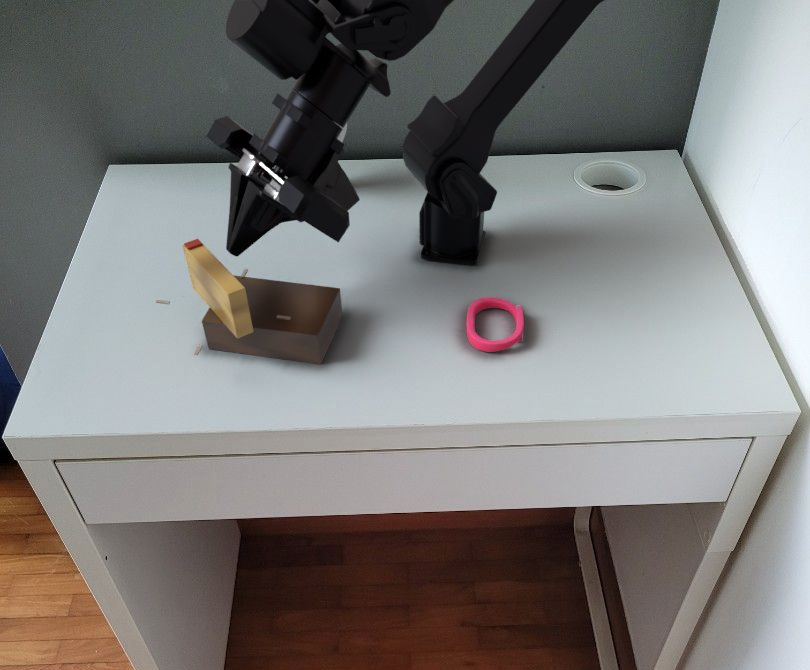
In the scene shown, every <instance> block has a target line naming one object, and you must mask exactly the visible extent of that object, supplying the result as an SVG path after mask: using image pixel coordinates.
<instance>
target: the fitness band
mask: <svg viewBox="0 0 810 670" xmlns="http://www.w3.org/2000/svg"><path fill="white" fill-rule="evenodd" d="M486 309H501V310H505V311H507V312H508V313H510V314H511V315H512V317H513V318H514V321H515V329H514V332H513V333H512V334H511V335H510V336H509V337H507V338H503V339H500V340H499V339H498V340H492V339H491V340H490V339H486V338H483V337H482V336H481V335H479V334H478V333H477V332H476V329H475V327H476V323H475V322H476V316H477V314H479V313H480V312H481V311H483V310H486ZM523 309H524V308H523V306H522V305H521V304H520V305H519V304H517V305H515V304H514V303H512V302H511V301H509V300H506V299H503V298H500V297H495V296H494V297H493V296H485V297H484V296H483V297H479V298H477V299H475V300H474V301H472V302H471V303H470V305H469V306H468V308H467V313H466V335H467V340H468V342H469V344H470V345H471V346H472V347H473V348H475V349H476V350H478V351H481V352H487V353H494V352H500V351H504V350H507V349H509V348H511V347H513V346H514V345H516V344H517V343H523V342H524V329H525V318H524V310H523Z"/></svg>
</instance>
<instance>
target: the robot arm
mask: <svg viewBox="0 0 810 670" xmlns="http://www.w3.org/2000/svg"><path fill="white" fill-rule="evenodd" d="M454 1H455V0H234V1H233V3H232V5H231V7H230V10H229V12H228V15H227V18H226V23H225V35H226V38H227V39H228V40H230V41H231V42H232V43H233V44H235V45H236V46H237V47H238V48H240V49H241V50H242V51H243V52H244V53H246V54H247V55H248V56H250V58H252V59H253V60H255V61H256V63H258V64H260V66H262V67H263V68H265V69H266V70H267V71H268V72H270V73H271V74H272V75H273V76H275V77H276V78H277V79H279V80H281V81H283V80H285V81H286V80H289V79H290V78H292V79H294V80H296V81H295V82H294V84H293V86H292V87H291V89H290V91H289V92H288V94H287V96H286V98H285V97H283V96H282V95H281V94H279V93H276V94H275V96H274V98H273V100H272V102H271V104H272V105H273V106H275V107H276V108H277V109H278V111H277V112H276V115H275V117H274V118H273V120H272V122H270V125H269V127H268V128H267V130H266V132H265V134H264V136H263V137H261V136H259V135H257V134H256V133H252V132H251V131H250V130H248V129H247V128H245V126H242V125H241V124H240V123H238V122H236V121H235V120H234V119H232V118H231V117H230V116H228V115H225V116H222V117H218V118H215V119H214V121H213V123H212V125H211V127H210V128H209V130H208V132H207V134H206V136H205V137H206V138H207V139H209V140H210V141H211V142H212V143H213V144H214V145H215V146H217V147H218V148H219V149H221V150H226V151H227V152H229V153H231V154H232V155H233V156H234V157H237V158H239V159H240V160H239V161H238V163H237V165H235V164H233V163H232V162H230V163H229V165H228V169H229V171H230V191H229V193H230V195H229V208H228V209H229V213H228V222H227V223H228V224H227V232H226V233H227V234H226V243H225V245H226V246H225V249H226V251H227V252H228V253H229V254H230V255H232V256H234V257H239V256H241V254H243V253H244V252H246V251H247V250H248V249H249V248H250V247H251V246H253V245H254V244H255V243H256V242H257V241H258V240H260V239H261V238H262V237H264V236H265V235H266V234H267V233H269V232H270V231H272V230H273V229H274V228H276V227H277V226H279V225H281V224H282V223H288V222H293V221H294V222H295V221H297V222H299V223H304V222H305V223H307V224H308V225H309V226H311V227H312V228H314V229H315V230H318V231H319V232H321V233H322V234H324V235H325V236H327V237H329V238H330V239H331V240H333V241H335V242H337V243H340V241H341V240H342V238H343V236H344V235H345V233H346V232H347V230H348V229H349V227H350V226H351V225H350V223H351V222H350V212H349V211H350V210H351V209H352V208H353V207H354V206H355V205H356V204H357V203H358V202H359V201H360V200H361V199H360V196H359V195H358V193H357V191H356V189H355V187H354V186H353V184H352V183H351V181H350V179H349V176H348V175H347V173H346V171H345V169H343V168H342V166H341V164H340V163H339V160H340V159H341V157H342V155H343V153H344V150H345V149H344V146H346V145H345V144H344V143H343V142H341V141H339V140H338V139H337V138H338V136H339V135H340V133H341V131H342V130H343V129H342V128H344V126H345V125H346V123H347V124H348V121H349V120H350V119H351V116H352V115H353V114H354V112H355V110H356V109H357V107H358V105H359V104H360V102H361V101H362V98H363V97H364V95H365V94H366V92H367V91H368V89H369V88H370V89H372V90H373V91H375V92H376V93H378V94H380V95H381V96H383V97H385V98H388V97H389V96H391V92H392V91H391V86H390V81H389V78H388V77H389V76H388V64H387V62H386V61H388V62H391V61H396V60H399V59H401V58H403V57H405V56H406V55H408V54H409V52H411V51H412V50H413V49H414V48H415V47H416V46H418V44H420V42H422V41H423V40H424V39H425V38H426V37H427V36H428V35H429V34H430V33H431V32H432V31H434V29H435V27H436V26H437V24H438V23H439V21H440V19H441V17H442V16H443V14H444V13H445V11H446V9H447V8H448V7H450V5H451V4H452V3H453V2H454ZM605 1H607V0H534V1H533V2H532V3H531V5H530V6H529V7H528V8H527V10H526V11H525V13H524V14H523V15H522V16H521V17H520V18H519V20H518V21H517V22H516V23H515V25H514V26H513V28H512V29H511V30H510V31H509V33H508V34H507V35H506V36H505V38H504V39H503V40H502V42H501V43H500V44H499V45H498V47H497V48H496V49H495V50H494V51H493V53H492V54H491V56H490V57H489V58H488V59H487V60H486V62H485V63H484V64H483V66H482V67H481V68H480V69H479V71H478V72H477V73H476V74H475V76H474V77H473V79H471V81H470V82H469V83H468V85H467V86H466V88H465V89H464V90H463V91H462V92H461V93H460V94H458V95H456V96H454V97H453V98H451V99H449V100H447V101H445V102H443V101H442V100H441V99H440V98H439V97H438V96H437V95H432V96H431V97H430V98H429V99H428V100H427V102H426V103H425V105H424V107H423V109H422V110H421V112H420V113H419V115H418V116H417V117H415V119H414V120H413V121H411V122H410V123H408V124H407V125H406V128H407V129H408V130H409V131H408V133H407V134H406V136H405V138H404V140H403V143H402V159H403V162H404V166H405V167H406V168H407V170H408V171H409V172H410V173H411V174H412V176H413V177H414V178H415V179H416V180H417V181H418V182H419V183H420V185H421V186H422V187H423V188H424V189H425V191H426V195H425V197H424V200H423V202H422V205H421V207H420V209H419V213H418V215H419V219H418V222H419V224H418V226H419V228H418V229H419V231H418V233H419V234H418V235H419V236H418V237H419V245H420V246H422V249H421V251H420V259H422V260H428V261H435V262H442V263H443V262H445V263H453V264H461V265H462V264H463V265H471V266H474V265H477V264H478V262H479V260H480V256H481V253H482V249H483V247H484V242H485V239H486V236H487V232H486V231H485V230H484V224H485V212H489V211H491V210H492V209H493V205H494V204H495V200H496V198H497V195H498V190H497V189H496V188H495V187H494V186H493V185H492V184H491V183H490V182H489V181H488V180H487V179H486V178H485V177H484V176H483V175H482V174H481V172H482V171H483V169H484V167H485V166H486V164H487V162H488V160H489V157H490V153H491V149H492V145H493V141H494V138H495V135H496V132H497V130H498V129H499V127H500V126H501V124H502V123H503V121H505V120H506V119H507V117H508V116H509V115H510V113H511V112H512V111H513V110H514V108H515V107H516V106H517V105H518V104H519V103H520V101H521V100H522V99H523V97H524V96H526V94H527V92H528V91H529V90H530V89H531V88H532V86H533V85H534V84H535V83H536V81H538V79H539V78H540V76H542V74H543V73H544V72H545V70H546V69H547V68H548V67H549V66H550V64H551V63H552V62H553V61H554V60H555V58H556V57H557V56H558V54H559V53H560V52H561V51H562V50H563V49H564V47H565V46H566V45H567V44H568V42H569V41H570V40H571V39H572V38H573V36H574V35H575V34H576V32H577V31H578V30H579V29H580V28H581V27H582V25H584V23H585V22H586V21H587V19H588V18H589V17H590V16H591V14H592V13H593V12H594V11H595V10H596V9H597V7H598V6H600V5H601V4H602V3H604V2H605ZM328 34H331V35H332V36H333V37H334V38H335V39H336V40H337V41H338V42H339V43H340V44H336V45H335V43H333V42H332V41H331V40H329V38H328V37H327V36H328ZM361 51H368V53H371V54H372V55H373V56H374V58H371V59H368V58H367V57H366V55H364V54H363V53H362V52H361ZM383 60H385V61H383ZM336 123H337V124H338V125H337V124H336ZM340 126H341V127H342V128H341V127H340Z"/></svg>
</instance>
